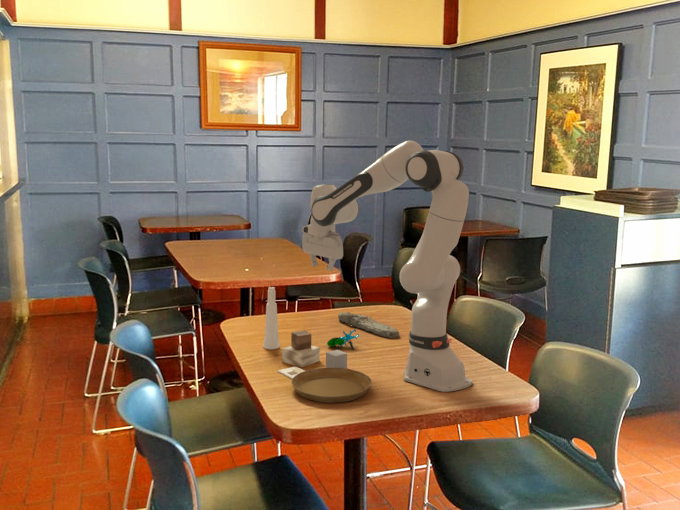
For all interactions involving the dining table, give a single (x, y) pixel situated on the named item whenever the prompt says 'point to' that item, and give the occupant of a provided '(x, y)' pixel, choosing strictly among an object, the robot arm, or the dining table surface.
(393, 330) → the elongated rock
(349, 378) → the plant saucer
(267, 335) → the cosmetic bottle
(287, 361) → the birch base block
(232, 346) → the dining table surface
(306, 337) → the walnut cube
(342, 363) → the grey plastic cube
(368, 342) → the dining table surface
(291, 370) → the card
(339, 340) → the stick construction toy
